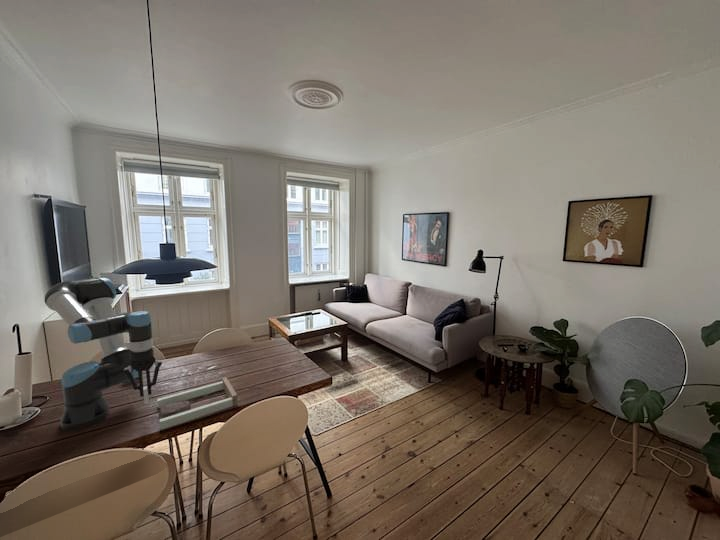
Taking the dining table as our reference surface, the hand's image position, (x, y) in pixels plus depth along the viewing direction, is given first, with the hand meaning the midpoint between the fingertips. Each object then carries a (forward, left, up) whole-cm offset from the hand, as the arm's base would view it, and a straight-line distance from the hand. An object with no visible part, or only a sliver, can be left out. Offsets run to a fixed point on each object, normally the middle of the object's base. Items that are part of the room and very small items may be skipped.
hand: (146, 402), depth 122 cm
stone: (+10, -1, -9) cm, 13 cm away
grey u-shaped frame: (+19, 0, -9) cm, 21 cm away
